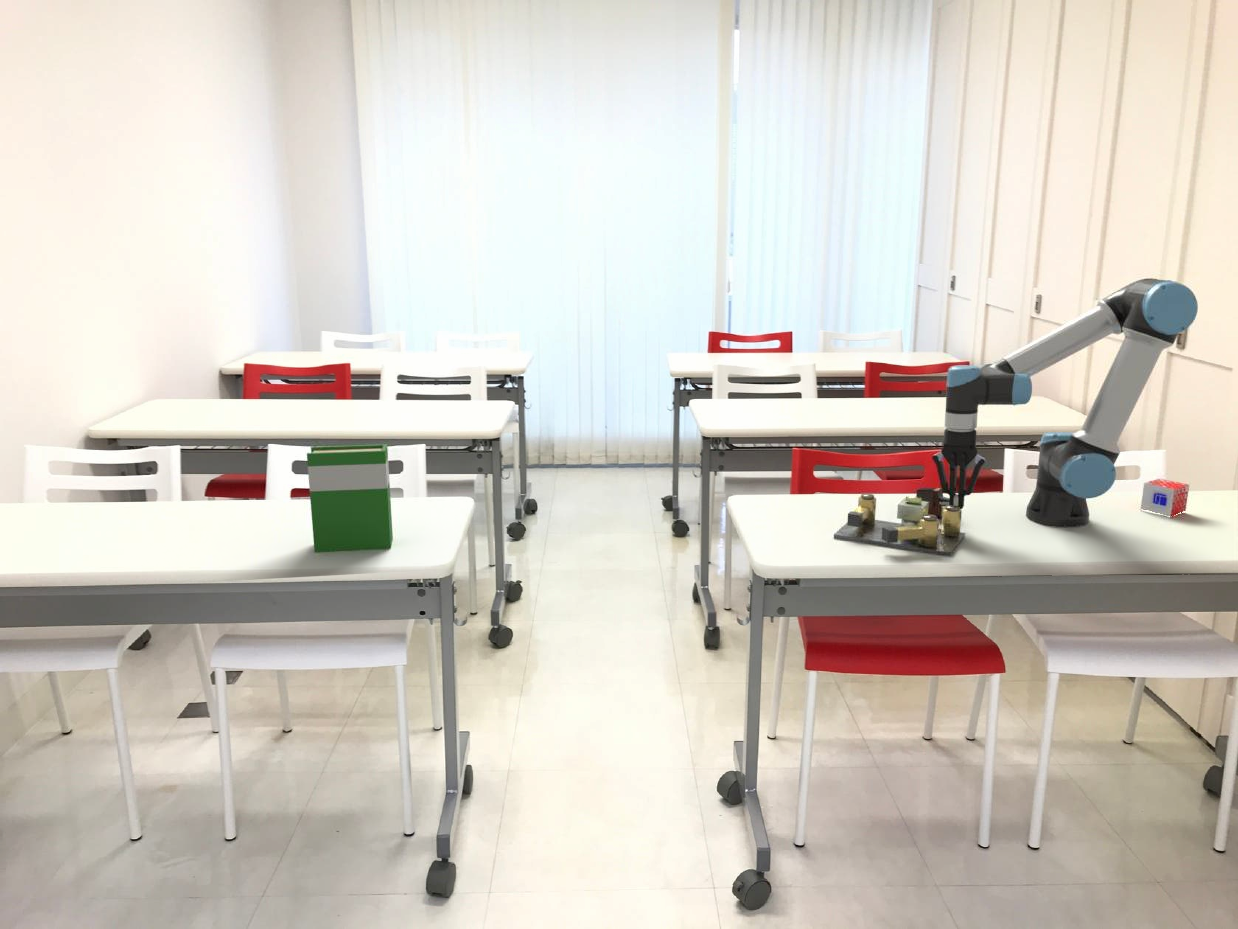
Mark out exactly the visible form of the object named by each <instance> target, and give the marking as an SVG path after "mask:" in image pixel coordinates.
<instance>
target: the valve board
mask: <svg viewBox="0 0 1238 929" xmlns="http://www.w3.org/2000/svg"><path fill="white" fill-rule="evenodd" d="M928 507H929V502H926V501H922V498H919V497H916V496H911V495H906V496H905V498H903V499H902V500H901V501H900V502H899V503H898V504H897V510H896V512H897V513H896V519H899V520H901V522H900V523H899V522H895V521H894V522H893V521H886V520H879V519H875V522H874V523H862V525H861V526H860V527H855V526H848V525H847V522H846V523H845V524H844V525H842V526H841V527H840V528H839V529H838V530H837V531H836V532H835V533H833V539H837V540H844V541H849V542H857V543H861V544H868V545H875V546H882V547H888V548H894V549H900V550H905V551H913V552H918V553H926V554H930V555H937V556H938V555H939V556H944V557H952V555H953V554H954V553H955V552H956V550H957V549H958V547H959V546H960V544H961V543H962V542H963V540H964V538H966V533H965V532H961V531H960V535H958V536H948V535H944V534H942V533H941V528H939V530H938V542H937V546H934V547H927V546H922V545H919V544H918V539H908V540H898V541H897V542H894V543H887V542H886V541H884V540H882V527H888V526H892V527H894V528H895V527H906V526H917V525H919V524H920V518H922V517H923V515H927V514H928Z"/></svg>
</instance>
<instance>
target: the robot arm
mask: <svg viewBox="0 0 1238 929" xmlns="http://www.w3.org/2000/svg"><path fill="white" fill-rule="evenodd" d="M1198 306H1199V305H1198V300H1197V298H1196V295H1195V294H1194V292H1193V291H1192V289H1191V288H1189V287H1188V286H1186V285H1185V284H1182V283H1180V282H1178V281H1174V280H1170V279H1169V280H1167V279H1165V280H1164V279H1158V278H1152V277H1151V278H1143V279H1142V278H1141V279H1139V280H1136V281H1133V282H1131V283H1129V284H1127V285H1125V286H1124V287H1122V288H1120V289H1118V290H1116V291H1114V292H1113V293H1111V294H1109V295H1107V296H1106V297H1104V298H1102V299H1100V300H1099V301H1098V302H1097V304H1096V306H1095V307H1093V308H1092V309H1090V310H1089V311H1087V312H1085V313H1083V314H1081V315H1079V316H1078V317H1076V318H1074V319H1072V320H1070V321H1069V322H1067V323H1065V324H1063V325H1061V326H1060V327H1058V328H1056V329H1054V330H1053V331H1051V332H1049V333H1047V334H1045V335H1043V336H1041V337H1039V338H1037V339H1036V340H1033V341H1032V342H1030V343H1029V344H1027V345H1025V346H1023V347H1020V348H1019V349H1018V350H1015V351H1013V352H1012V353H1010V354H1009V355H1007V356H1005V357H1003V358H1001V359H999V360H997V361H995V362H992V363H986V364H982V365H980V366H977V365H971V364H970V365H967V364H964V365H963V364H962V365H961V364H959V365H958V364H957V365H951V366H950V367H949V368H948V370H947V378H946V385H945V387H946V389H945V390H946V391H945V393H946V395H945V412H944V413H945V415H944V427H945V429H944V430H943V431H944V432H943V446H942V447H941V449H940V450H941V451H939V452H937V453H935V454H933V455H932V457H931V459H932V461H933V462H934V463H935V468H936V471H937V475H938V479H939V483H940V488H941V489H942V492H943V494H947V495H949V498H950V500H949V505H956V506H959V509H961V510H962V509H963V508H964V506H965V497H966V496H970V495H971V494H972V493H973V491H974V488H975V485H976V482H977V480H978V477H979V474H980V472H981V468H982V467H983V465H984V464H986V461H987V458H986V457H984V456H981V455H980V454H978V450H977V434H978V433H977V430H976V428H977V427H978V411H979V406H980V405H981V406H985V405H986V406H988V405H989V406H996V405H997V406H999V405H1000V406H1005V405H1006V406H1009V405H1010V406H1018V405H1027V404H1028V403H1029V402H1030V401H1031V398H1032V393H1033V383H1032V382H1033V381H1032V379H1031V377H1033V376H1035V375H1036V374H1039V373H1040V372H1043V371H1044V370H1046V369H1048V368H1050V367H1051V366H1054V365H1056V364H1057V363H1059V362H1061V361H1063V360H1065V359H1067V358H1069V357H1071V356H1072V355H1074V354H1076V353H1078V352H1080V351H1082V350H1083V349H1086V348H1088V347H1089V346H1091V345H1093V344H1095V343H1098V342H1099V341H1101V340H1103V339H1104V338H1106V337H1108V336H1110V335H1112V334H1113V335H1114V334H1115V335H1120V334H1122V333H1123V334H1124V335H1123V336H1124V339H1123V341H1122V343H1121V345H1120V347H1119V349H1118V351H1117V353H1116V356H1115V358H1114V359H1113V362H1112V363H1111V366H1110V368H1109V370H1108V372H1107V374H1106V376H1105V379H1104V381H1103V382H1102V385H1101V387H1100V389H1099V391H1098V393H1097V395H1096V397H1095V399H1094V402H1093V403H1092V406H1091V408H1090V410H1089V412H1088V414H1087V416H1086V418H1085V420H1084V423H1083V425H1082V427H1081V429H1080V430H1077V431H1075V432H1067V431H1065V432H1064V431H1062V432H1061V431H1055V432H1054V431H1052V432H1051V431H1050V432H1045V433H1044V434H1042V436H1041V440H1040V443H1039V457H1038V463H1037V464H1038V465H1037V473H1036V475H1037V476H1036V486H1035V490H1034V492H1033V493H1032V495H1031V497H1030V499H1029V502H1028V504H1027V506H1026V510H1025V511H1026V512H1025V516H1026V518H1027V519H1029V520H1031V521H1033V522H1036V523H1039V524H1042V525H1046V526H1047V525H1048V526H1054V527H1061V528H1062V527H1063V528H1068V527H1069V528H1075V527H1082V526H1085V525H1087V524H1089V521H1090V510H1089V507H1088V506H1089V505H1088V502H1087V499H1094V498H1097V497H1100V496H1102V495H1104V494H1106V493H1107V492H1108V491H1109V490H1110V489H1111V488H1112V487H1113V485H1114V484H1115V481H1116V477H1117V470H1116V467H1115V464H1116V461H1117V460H1118V457H1119V456H1120V454H1121V451H1120V448H1119V445H1118V442H1119V439H1120V438H1121V435H1122V434H1123V432H1124V429H1125V427H1126V425H1127V423H1128V421H1129V420H1130V418H1131V415H1132V414H1133V411H1134V410H1135V406H1136V404H1137V403H1138V401H1139V399H1140V396H1141V395H1142V393H1143V390H1144V389H1145V386H1146V384H1147V383H1148V381H1149V378H1150V376H1151V374H1152V372H1153V370H1154V368H1155V366H1156V364H1157V362H1158V360H1159V358H1160V356H1161V354H1162V352H1163V351H1164V350H1165V349H1168V348H1171V347H1173V345H1174V344H1175V341H1176V340H1177V338H1178V335H1179V334H1180V333H1181V332H1182V333H1183V331H1185V330H1187V329H1188V328H1189V327H1190V326H1192V324H1193V323H1194V321H1195V319H1196V317H1197V314H1198V309H1199V307H1198ZM944 458H945V460H946V462H947V463H948V464H949V482H948V477H947V474H946V469H945V465H944V461H943V460H944ZM973 460H974V464H975V465H974V469H973V470H972V471H973V472H972V473H971V476H970V480H969V481H968V485H967V489H966V483H967V482H966V481H967V473H968V471H967V470H968V465H969V464H971V462H972V461H973ZM958 466H959V479H958V488H957V471H958ZM957 489H958V491H957ZM957 492H958V493H957Z"/></svg>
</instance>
